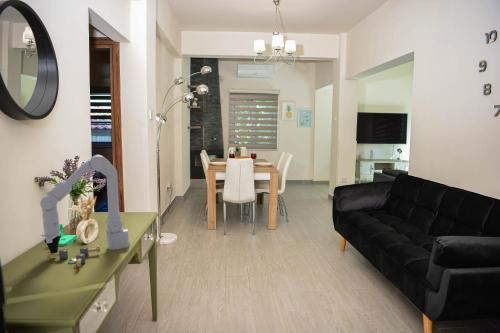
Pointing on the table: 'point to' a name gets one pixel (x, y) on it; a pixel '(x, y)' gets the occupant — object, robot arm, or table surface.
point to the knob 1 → (59, 254)
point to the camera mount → (65, 237)
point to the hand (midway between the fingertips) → (54, 253)
